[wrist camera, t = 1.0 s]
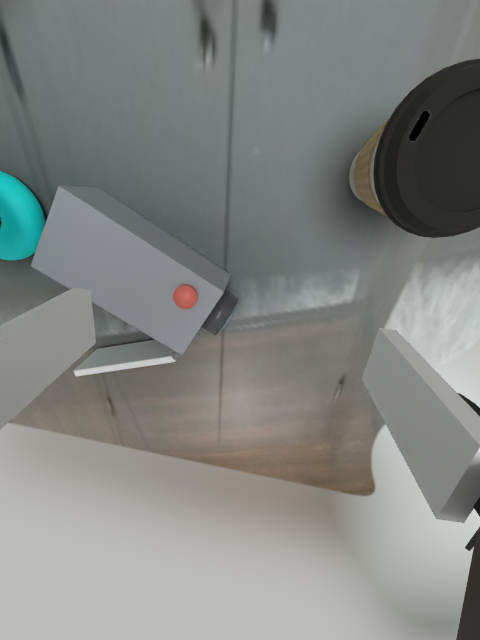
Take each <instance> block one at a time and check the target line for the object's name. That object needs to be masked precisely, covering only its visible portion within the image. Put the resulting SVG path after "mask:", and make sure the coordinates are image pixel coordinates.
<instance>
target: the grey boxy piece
mask: <svg viewBox="0 0 480 640" xmlns="http://www.w3.org/2000/svg"><path fill="white" fill-rule="evenodd" d="M31 267H33V268H35V269H37V270H38V271H40V272H42V273H43V274H45V275H47V276H48V277H50V278H52V279H54V280H55V281H57V282H59V283H60V284H62V285H64V286H65V287H67V288H69V289H72V288H81V289H89V290H91V298H92V302H93V303H94V304H96V305H98V306H99V307H101V308H103V309H104V310H106V311H108V312H109V313H111V314H113V315H115V316H116V317H118V318H120V319H121V320H123V321H125V322H126V323H128V324H130V325H132V326H133V327H135V328H137V329H138V330H140V331H142V332H143V333H145V334H147V335H149V336H150V337H152V338H154V339H155V340H157V341H159V342H160V343H162V344H164V345H165V346H167V347H169V348H171V349H172V350H174V351H176V352H177V353H179V354H181V355H182V354H183V353H184V351H185V350H186V348H187V347H188V345H189V344H190V342H191V341H192V339H193V338H194V336H195V335H196V333H197V332H198V330H199V329H200V327H203V328H204V329H206V330H207V331H209V332H211V333H212V334H214V335H216V334H217V333H218V332H219V331H220V329H221V330H223V329H224V328H225V327H226V325H227V324H228V323H229V321H230V320H231V318H232V316H233V314H234V313H235V311H236V307H235V306H236V303H237V301H238V299H237V298H236V297H234V296H233V295H231V294H229V293H228V292H226V291H225V289H226V286H227V284H228V281H229V279H230V277H231V275H230V274H229V273H227V272H226V271H224V270H223V269H221V268H220V267H218V266H217V265H215V264H214V263H212V262H211V261H209V260H208V259H206V258H205V257H203V256H202V255H200V254H199V253H197V252H196V251H194V250H192V249H191V248H189V247H188V246H186V245H185V244H183V243H182V242H180V241H179V240H177V239H176V238H174V237H173V236H171V235H170V234H168V233H167V232H165V231H164V230H162V229H161V228H159V227H158V226H156V225H155V224H153V223H152V222H150V221H149V220H147V219H145V218H144V217H142V216H141V215H139V214H138V213H136V212H135V211H133V210H132V209H130V208H129V207H127V206H126V205H124V204H123V203H121V202H120V201H118V200H117V199H115V198H114V197H112V196H111V195H109V194H108V193H106V192H105V191H103V190H101V189H100V188H98V187H79V186H58V189H57V192H56V195H55V197H54V200H53V203H52V206H51V209H50V212H49V215H48V218H47V221H46V223H45V226H44V229H43V232H42V235H41V238H40V241H39V244H38V247H37V249H36V252H35V255H34V258H33V261H32V264H31Z"/></svg>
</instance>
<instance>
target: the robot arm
mask: <svg viewBox="0 0 480 640" xmlns="http://www.w3.org/2000/svg"><path fill="white" fill-rule="evenodd" d="M95 343H96V339H95V329H94V319H93V308H92V298H91V290H89V289H81V288H72V289H70V290H68V291H66V292H64V293H62V294H60V295H59V296H57V297H55V298H53V299H51V300H49V301H47V302H45V303H43V304H41V305H39V306H37V307H35V308H33V309H31V310H29V311H27V312H25V313H23V314H21V315H19V316H17V317H15V318H13V319H11V320H9V321H7V322H5V323H3V324H2V325H0V429H2V428H3V427H4V426H5V425H6V424H7V423H8V422H9V421H10V420H11V419H13V418H14V417H15V416H16V415H17V414H18V413H19V412H20V411H21V410H22V409H24V408H25V407H26V406H27V405H28V404H29V403H30V402H31V401H32V400H34V399H35V398H36V397H37V396H38V395H39V394H40V393H41V392H42V391H43V390H45V389H46V388H47V387H48V386H49V385H50V384H51V383H52V382H53V381H54V380H56V379H57V378H58V377H59V376H60V375H61V374H62V373H63V372H64V371H65V370H67V369H68V368H69V367H70V366H71V365H72V364H73V363H74V362H75V361H76V360H78V359H79V358H80V357H81V356H82V355H83V354H84V353H85V352H86V351H87V350H89V349H90V348H91V347H92V346H93V345H94V344H95ZM362 380H363V382H364V384H365V386H366V388H367V390H368V392H369V394H370V395H371V397H372V399H373V401H374V403H375V405H376V407H377V409H378V410H379V412H380V414H381V416H382V418H383V420H384V422H385V424H386V425H387V427H388V429H389V431H390V433H391V435H392V437H393V439H394V440H395V442H396V444H397V446H398V448H399V450H400V452H401V454H402V455H403V457H404V459H405V461H406V463H407V465H408V467H409V468H410V470H411V472H412V474H413V476H414V478H415V480H416V482H417V483H418V485H419V487H420V489H421V491H422V493H423V495H424V497H425V499H426V500H427V502H428V504H429V506H430V508H431V510H432V512H433V514H434V515H435V517H436V519H442V520H449V521H456V522H463V523H464V522H465V520H466V519H467V517H468V516H469V514H470V513H471V511H472V510H473V509H475V510H476V511H477V513H478V514H479V516H480V408H479V407H478V406H477V405H476V404H475V403H473V402H471V401H470V400H469V399H467V398H466V397H464V396H462V395H461V394H459V393H457V392H456V391H454V389H453V388H452V387H451V386H450V385H449V384H448V383H447V382H446V381H445V380H444V379H443V378H442V377H441V376H440V375H439V374H438V373H437V372H436V371H435V370H434V369H433V368H432V367H431V366H430V365H429V364H428V363H427V362H426V360H425V359H424V358H423V357H422V356H421V355H420V354H419V353H418V352H417V351H416V350H415V349H414V348H413V347H412V346H411V345H410V344H409V343H408V342H407V341H406V340H405V339H404V338H403V337H402V336H401V335H400V334H399V333H398V332H397V331H396V330H389V329H382V328H379V330H378V333H377V336H376V339H375V342H374V345H373V348H372V351H371V354H370V357H369V359H368V362H367V365H366V368H365V371H364V374H363V377H362ZM473 547H474V550H473V555H472V561H471V566H470V571H469V576H468V582H467V587H466V592H465V597H464V603H463V608H462V613H461V618H460V624H459V629H458V634H457V639H456V640H480V527H479V529H478V530H477V531H476V533H475V534H474V536H473V537H472V538H471V540H470V541H469V543H468V544H467V546H466V547H465V548H466V549H467V550H469V551H470V550H471V549H472V548H473Z"/></svg>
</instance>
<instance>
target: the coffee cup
mask: <svg viewBox="0 0 480 640" xmlns="http://www.w3.org/2000/svg"><path fill="white" fill-rule="evenodd" d="M349 183H350V187H351V190H352V192H353V193H354V195H355V196H356V197H357V198H358V199H359V200H361V201H363V202H364V203H365V204H366V205H368V206H369V207H371V208H373V209H375V210H376V211H378V212H380V213H382V214H384V215H385V216H387V217H389V219H390V220H391V221H392V222H393V223H394V224H395V225H397V226H398V227H400V228H402V229H403V230H405V231H406V232H409V233H412V234H415V235H418V236H423V237H432V238H436V237H449V236H455V235H458V234H462V233H466V232H469V231H471V230H474V229H476V228H478V227H480V59H475V60H467V61H464V62H460V63H458V64H455V65H452V66H449V67H446V68H444V69H442V70H440V71H438V72H436V73H435V74H433V75H431V76H430V77H428V78H426V79H425V80H424V81H422V82H421V83H420V84H419V85H418V86H416V87H415V88H414V89H413V90H412V91H410V92H409V94H408V95H407V96H406V97H405V98H404V99H403V100H402V102H401V103H400V104H399V105H398V106H397V107H396V109H395V111H394V112H393V114H392V115H391V117H390V118H389V119H388V120H387V121H386V122H385V123H384V124H383V125H382V126H381V127H380V128H379V129H378V130H377V132H376V133H375V134H374V135H373V136H372V137H371V138H370V139H369V140H368V141H367V142H366V143H365V145H364V146H363V148H362V149H361V150H360V151H359V152H358V153H357V155H356V156H355V158H354V160H353V162H352V164H351V167H350V171H349Z"/></svg>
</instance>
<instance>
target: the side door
mask: <svg viewBox="0 0 480 640" xmlns="http://www.w3.org/2000/svg"><path fill="white" fill-rule="evenodd" d="M180 356H181V354H179V353H177V352H176V351H174V350H172V349H171V348H169V347H167V346H165V345H164V344H162V343H160V342H159V341H157V340H149V341H143V342H137V343H130V344H124V345H118V346H112V347H105V348H99V349H96V350H95V351H94V352H93V353H92V354H91V355H90V356H89V357H88V358H87V359H86V360H85V361H83V362H82V363H81V364H80V365H79V366H78V367H77V368H76V369H75V370H74V373H75V376H82V375H89V374H96V373H102V372H109V371H116V370H123V369H130V368H137V367H144V366H150V365H157V364H164V363H171V362H176V360H178V359H179V358H180Z"/></svg>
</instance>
